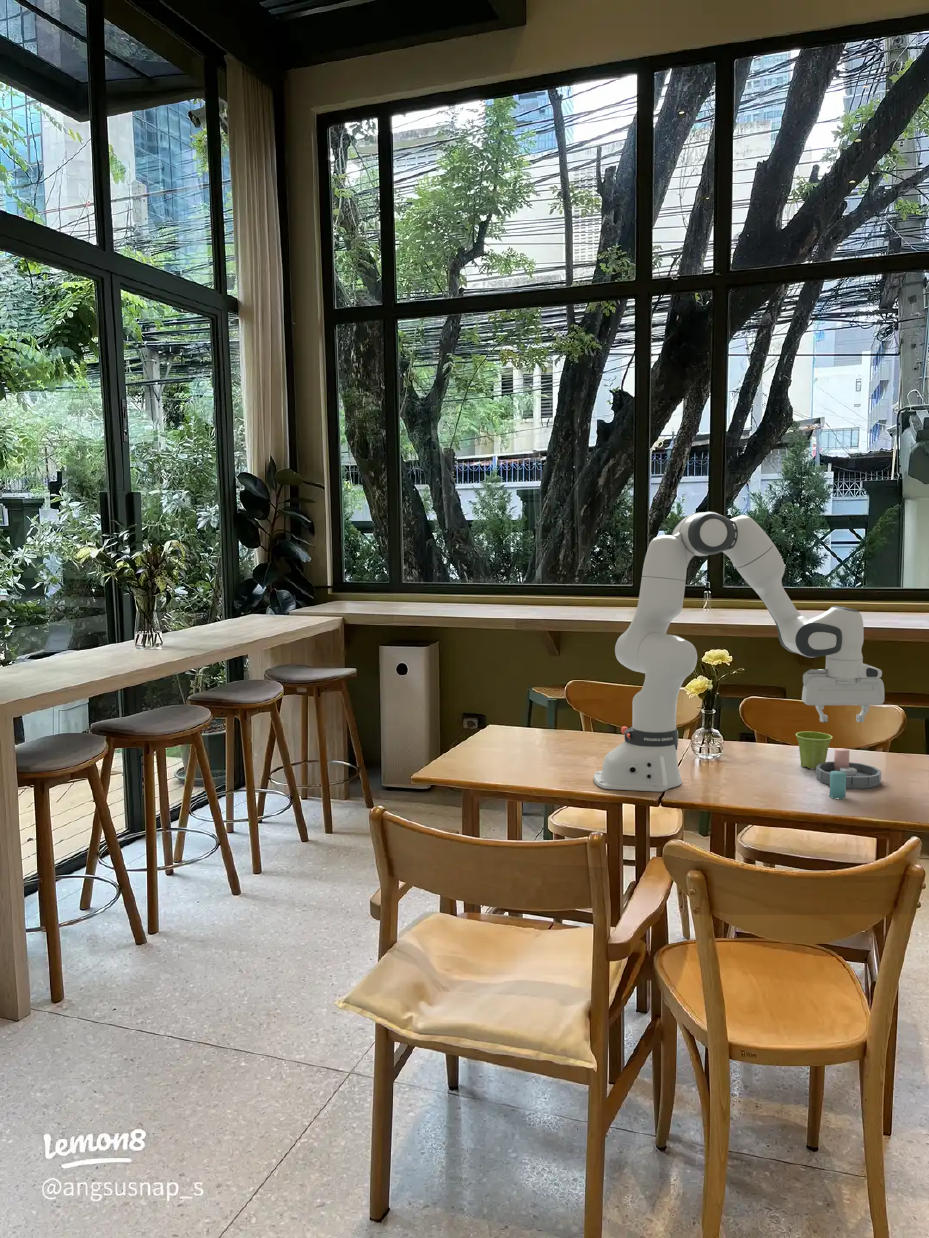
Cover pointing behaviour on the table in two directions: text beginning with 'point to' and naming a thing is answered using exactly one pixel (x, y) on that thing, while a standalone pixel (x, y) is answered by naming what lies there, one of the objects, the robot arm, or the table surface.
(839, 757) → the pink cylinder
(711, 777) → the table surface
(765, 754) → the table surface
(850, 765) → the groove tray
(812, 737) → the plant pot
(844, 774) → the teal block
